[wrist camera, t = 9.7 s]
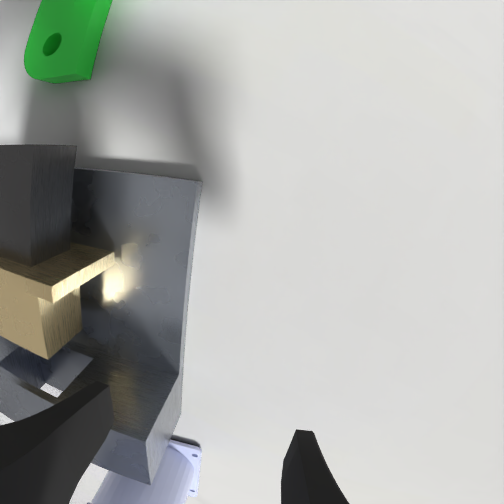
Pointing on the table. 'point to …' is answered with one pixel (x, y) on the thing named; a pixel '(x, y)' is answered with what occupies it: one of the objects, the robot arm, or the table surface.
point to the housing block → (122, 316)
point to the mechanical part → (65, 39)
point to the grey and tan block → (41, 249)
